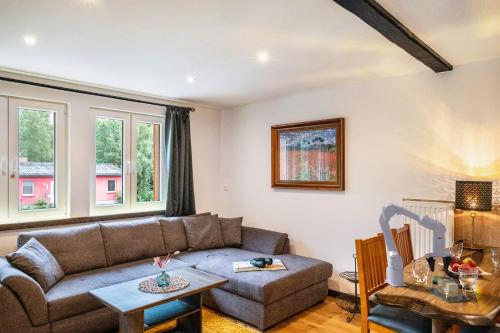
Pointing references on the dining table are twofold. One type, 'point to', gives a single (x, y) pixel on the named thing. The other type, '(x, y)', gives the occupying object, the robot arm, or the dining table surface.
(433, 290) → the chassis
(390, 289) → the dining table surface
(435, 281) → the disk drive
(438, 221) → the robot arm
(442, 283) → the module block
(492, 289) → the dining table surface
